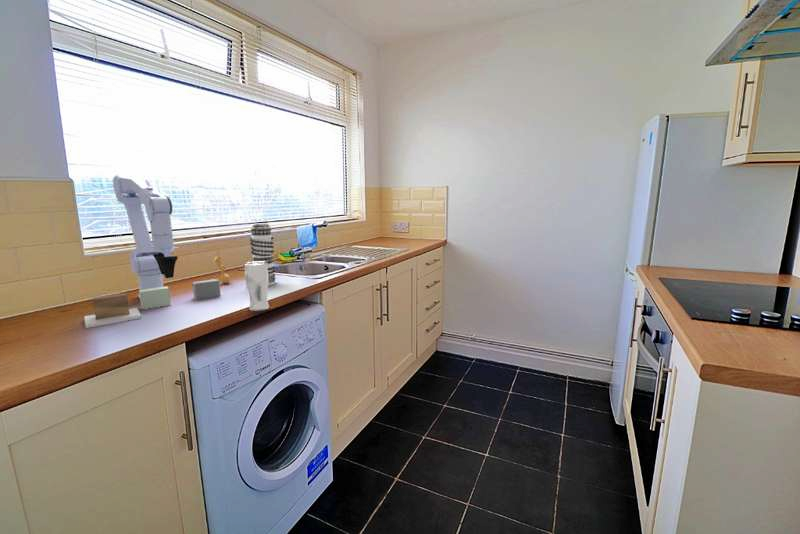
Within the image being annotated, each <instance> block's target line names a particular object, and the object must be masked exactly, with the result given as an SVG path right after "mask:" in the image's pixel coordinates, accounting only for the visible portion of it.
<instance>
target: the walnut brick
mask: <svg viewBox="0 0 800 534" xmlns="http://www.w3.org/2000/svg"><path fill="white" fill-rule="evenodd" d="M92 303H93V304H92V305H93V310H94V315H95V317H96V320H98V319H105V318H111V317H117V316H123V315H129V314H130V313H129V309H130V308H129V301H128V294H127V292H122V293H115V294H108V295H102V296H94V297H92Z"/></svg>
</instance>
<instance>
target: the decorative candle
mask: <svg viewBox="0 0 800 534" xmlns="http://www.w3.org/2000/svg"><path fill="white" fill-rule="evenodd" d="M271 228H272V226H270V225H269V223H266V222H264V223H263V222H262V223H261V222H260V223H259V222H258V223H254V224H252V226H251V227H250V230H251V231H250V233H251V237H250V238H249V242H250V243H249V245H250V246H251V247H250V250H251V252H250V253H251V254H252V255H251V257H252V258H253V262H258V261H262V262H267V269H268V286H272V285H275V284H276V274H275V273H276V270H274V269H275V266H274V259H273V257H274V252H275V251H274V250H273V248H274V242H273V241H272V240H274V237H273V236H272V231H271Z"/></svg>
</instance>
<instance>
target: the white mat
mask: <svg viewBox="0 0 800 534" xmlns="http://www.w3.org/2000/svg"><path fill="white" fill-rule="evenodd" d="M129 313H130V314H129V315H123V316H117V317H111V318H105V319H98V320H96V317H95V314H92V315H91V314H90V315H85V316H84V326H85V329H89V328H94V327H100V326H106V325H112V324H115V323H121V322H122V323H123V322H128V320H129V321H134V320H139V318H140V319H142V315H141V313H140V311H139V309H138V308H137V307H134V308H133V307H132V308H129Z"/></svg>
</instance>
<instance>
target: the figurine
mask: <svg viewBox="0 0 800 534" xmlns="http://www.w3.org/2000/svg"><path fill="white" fill-rule="evenodd" d="M213 259H214V260H213V261H212V263H213V266H214V268H215V269H218V268H219V269H220V274H221V276H220V279H219V280H220V282H221V283H222V284H224V285H226V284H229V283H231V279H232V278H231V277H232V276H230V275H229V274H227V273H225V269H226V266H228V265H227V263H226V261H224V260H223V259H222V257H221V255H220V254H219V255H217V256H215V257H213ZM221 262H222V263H224V264H225V266H224V265H223V264H222V263H221ZM216 265H217V266H216Z"/></svg>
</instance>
